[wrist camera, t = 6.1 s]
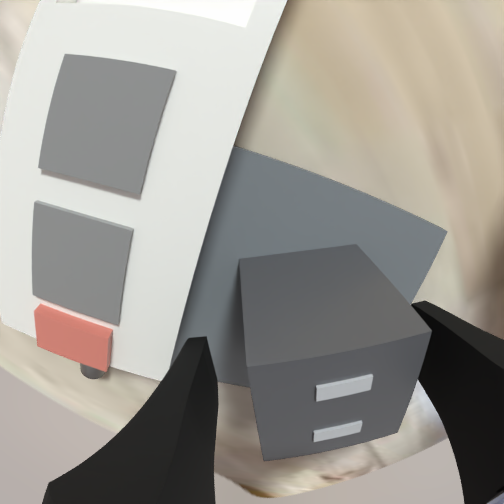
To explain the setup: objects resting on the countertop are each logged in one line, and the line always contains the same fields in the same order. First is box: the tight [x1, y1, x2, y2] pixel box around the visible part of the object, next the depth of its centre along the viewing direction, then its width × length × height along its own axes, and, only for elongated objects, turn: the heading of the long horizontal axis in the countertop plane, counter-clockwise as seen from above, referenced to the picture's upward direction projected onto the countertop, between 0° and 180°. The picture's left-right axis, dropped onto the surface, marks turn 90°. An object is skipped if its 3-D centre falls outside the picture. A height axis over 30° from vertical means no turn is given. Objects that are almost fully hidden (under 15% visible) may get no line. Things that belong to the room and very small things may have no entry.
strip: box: [0, 0, 287, 381], centre depth 7 cm, size 25×7×4 cm, turn 161°
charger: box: [239, 244, 432, 461], centre depth 10 cm, size 4×4×6 cm
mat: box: [169, 146, 447, 387], centre depth 13 cm, size 10×10×1 cm
